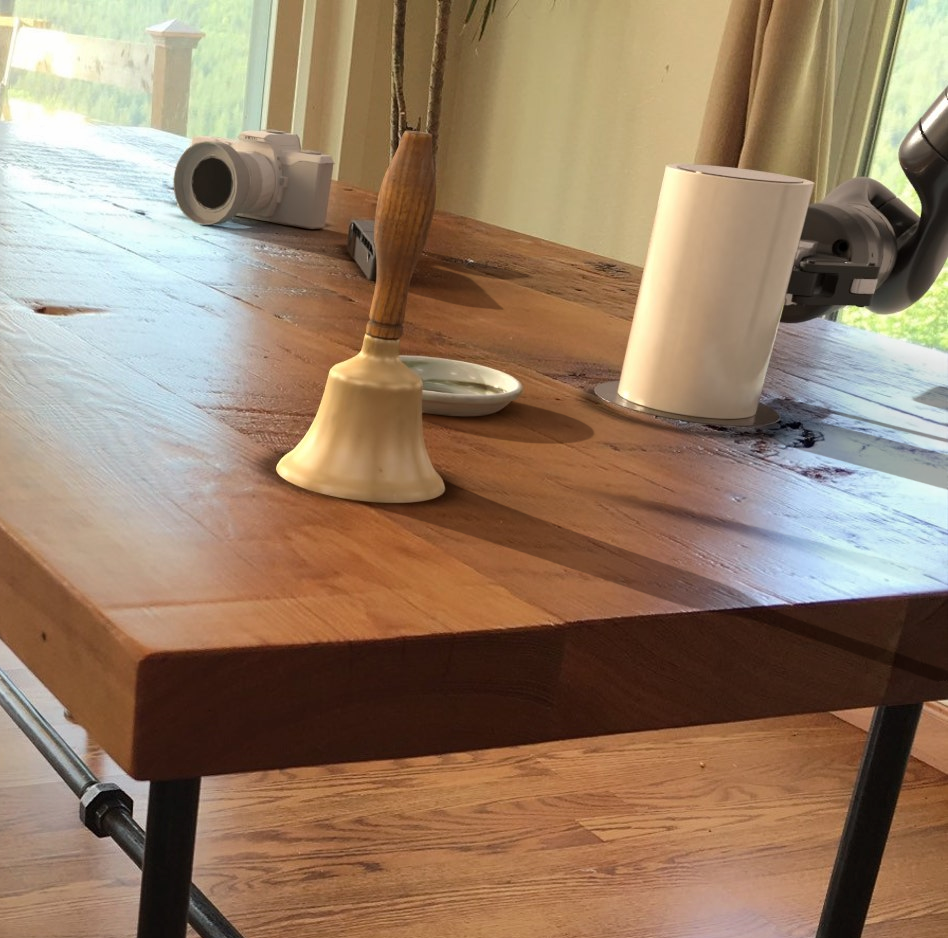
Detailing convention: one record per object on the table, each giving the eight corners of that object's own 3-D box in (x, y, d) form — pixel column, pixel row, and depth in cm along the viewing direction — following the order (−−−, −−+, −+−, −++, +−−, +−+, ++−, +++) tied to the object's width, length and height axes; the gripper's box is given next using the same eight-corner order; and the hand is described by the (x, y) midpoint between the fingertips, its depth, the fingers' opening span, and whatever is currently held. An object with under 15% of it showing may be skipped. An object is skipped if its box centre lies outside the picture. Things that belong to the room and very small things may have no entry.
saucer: (317, 395, 97) (323, 353, 95) (460, 395, 100) (466, 354, 99) (396, 439, 89) (403, 394, 88) (548, 437, 92) (556, 394, 91)
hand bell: (379, 456, 85) (430, 124, 78) (480, 504, 78) (545, 147, 71) (242, 464, 81) (282, 116, 74) (336, 515, 75) (390, 139, 68)
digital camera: (128, 247, 166) (118, 141, 163) (227, 237, 175) (220, 136, 172) (245, 236, 154) (236, 121, 151) (345, 226, 163) (339, 117, 160)
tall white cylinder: (735, 426, 94) (795, 186, 89) (598, 398, 98) (647, 165, 92) (788, 395, 104) (845, 176, 98) (662, 370, 108) (710, 158, 102)
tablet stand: (345, 250, 152) (349, 216, 151) (372, 252, 152) (377, 218, 151) (367, 282, 136) (373, 245, 135) (399, 285, 136) (404, 247, 135)
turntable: (773, 413, 103) (777, 398, 103) (780, 452, 94) (784, 435, 93) (595, 387, 106) (598, 371, 105) (585, 422, 96) (588, 405, 96)
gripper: (729, 189, 115) (639, 200, 102) (930, 218, 109) (862, 234, 95) (704, 300, 118) (614, 324, 105) (898, 334, 112) (827, 364, 99)
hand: (732, 281), depth 101 cm, fingers closed
